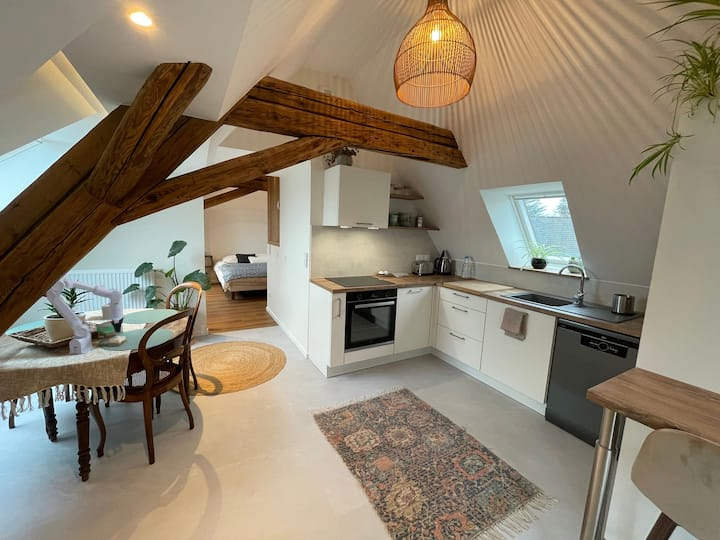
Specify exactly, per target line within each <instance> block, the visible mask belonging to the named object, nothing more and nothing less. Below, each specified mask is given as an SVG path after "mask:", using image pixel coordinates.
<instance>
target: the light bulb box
mask: <svg viewBox="0 0 720 540" xmlns="http://www.w3.org/2000/svg"><path fill="white" fill-rule="evenodd" d="M101 313H102V321H112V319H111V310H110V302H108V303H106V304H105V305H103V306H101Z"/></svg>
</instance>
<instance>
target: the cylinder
mask: <svg viewBox="0 0 720 540" xmlns="http://www.w3.org/2000/svg"><path fill="white" fill-rule="evenodd" d="M123 327H124V326H123V325H121V331H120V332H118V333H116V332H115V329H114V327H113V329H114V334H115V336H118V335H122V334H123V333H124V328H123Z"/></svg>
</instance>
